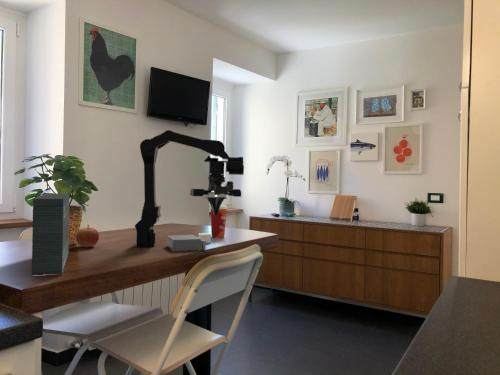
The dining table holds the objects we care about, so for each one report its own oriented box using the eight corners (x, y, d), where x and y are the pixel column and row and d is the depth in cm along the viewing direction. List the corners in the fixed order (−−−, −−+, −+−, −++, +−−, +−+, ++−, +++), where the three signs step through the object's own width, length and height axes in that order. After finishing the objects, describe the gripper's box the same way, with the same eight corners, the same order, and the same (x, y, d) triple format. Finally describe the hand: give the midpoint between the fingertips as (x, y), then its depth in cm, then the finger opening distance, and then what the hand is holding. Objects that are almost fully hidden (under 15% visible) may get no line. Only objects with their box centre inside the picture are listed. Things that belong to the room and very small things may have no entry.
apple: (85, 244, 151) (85, 223, 151) (103, 246, 149) (103, 224, 149) (70, 248, 143) (70, 225, 143) (89, 249, 141) (89, 226, 141)
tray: (176, 250, 143) (177, 242, 143) (170, 245, 153) (171, 237, 153) (206, 249, 147) (206, 241, 147) (198, 244, 157) (198, 236, 157)
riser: (201, 243, 161) (201, 234, 161) (198, 241, 164) (198, 233, 164) (210, 243, 162) (210, 234, 162) (207, 241, 166) (208, 233, 166)
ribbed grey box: (44, 255, 130) (45, 193, 129) (68, 254, 132) (69, 193, 132) (31, 277, 103) (32, 198, 102) (62, 275, 105) (63, 198, 105)
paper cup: (225, 238, 176) (226, 206, 175) (208, 237, 176) (209, 205, 175) (227, 235, 183) (228, 205, 183) (210, 235, 184) (211, 204, 183)
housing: (172, 251, 142) (173, 240, 142) (167, 246, 153) (167, 235, 153) (201, 250, 146) (202, 239, 146) (194, 245, 157) (194, 234, 156)
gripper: (197, 173, 142) (196, 217, 143) (247, 175, 149) (246, 217, 150) (190, 173, 153) (189, 214, 153) (236, 174, 160) (235, 214, 160)
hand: (215, 215), depth 154 cm, fingers closed
